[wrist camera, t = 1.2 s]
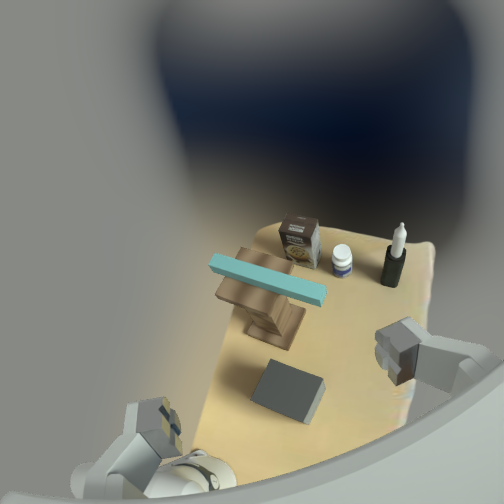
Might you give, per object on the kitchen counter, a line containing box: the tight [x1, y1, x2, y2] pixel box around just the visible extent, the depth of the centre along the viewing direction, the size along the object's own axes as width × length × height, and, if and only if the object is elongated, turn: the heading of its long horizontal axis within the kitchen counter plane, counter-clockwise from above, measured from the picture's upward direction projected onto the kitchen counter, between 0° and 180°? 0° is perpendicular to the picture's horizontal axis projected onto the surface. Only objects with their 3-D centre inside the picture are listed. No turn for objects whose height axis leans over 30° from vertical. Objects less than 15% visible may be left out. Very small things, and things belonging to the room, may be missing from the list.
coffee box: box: [278, 213, 322, 269], centre depth 87 cm, size 9×6×16 cm
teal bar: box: [209, 253, 327, 307], centre depth 60 cm, size 24×3×3 cm, turn 63°
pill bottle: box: [332, 244, 352, 278], centre depth 83 cm, size 6×6×10 cm
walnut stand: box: [215, 247, 306, 351], centre depth 73 cm, size 12×12×26 cm
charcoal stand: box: [250, 359, 326, 425], centre depth 65 cm, size 12×10×15 cm
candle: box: [381, 223, 406, 288], centre depth 72 cm, size 5×5×25 cm
